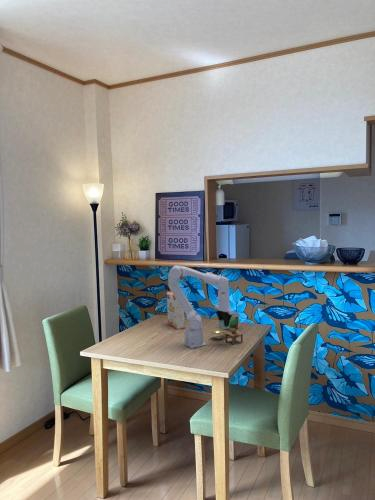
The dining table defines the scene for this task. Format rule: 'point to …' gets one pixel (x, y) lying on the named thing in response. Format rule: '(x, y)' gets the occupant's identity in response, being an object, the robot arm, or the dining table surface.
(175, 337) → the dining table surface
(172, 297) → the cracker box
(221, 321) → the block
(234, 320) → the food container
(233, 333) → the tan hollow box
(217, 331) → the balance
